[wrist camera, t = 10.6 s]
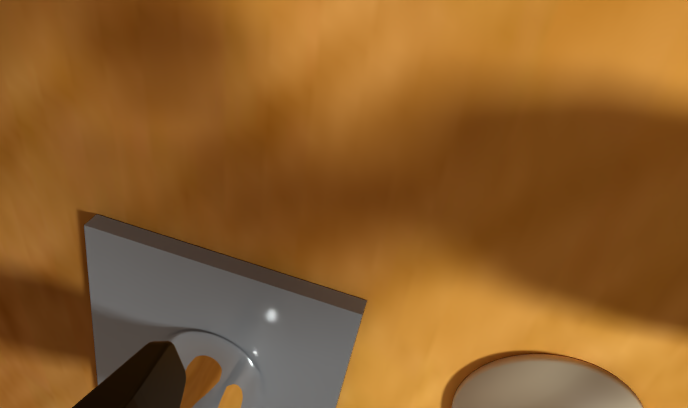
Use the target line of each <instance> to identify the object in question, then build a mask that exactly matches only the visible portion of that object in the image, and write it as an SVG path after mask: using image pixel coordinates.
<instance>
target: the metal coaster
mask: <svg viewBox="0 0 688 408" xmlns="http://www.w3.org/2000/svg"><path fill="white" fill-rule="evenodd" d="M452 408H643V406H642V403H641V402H640V400H639V399H638V397H637V396H636V394H635V393H634V392H633V391H632V390H631V389H630V388H629V387H628V386H627V385H626V384H625V383H624V382H623V381H621V380H620V379H619V378H617V377H616V376H614V375H613V374H611V373H609V372H608V371H606V370H604V369H602V368H600V367H598V366H595V365H593V364H590V363H587V362H585V361H582V360H578V359H574V358H570V357H565V356H559V355H549V354H525V355H516V356H511V357H506V358H502V359H499V360H496V361H493V362H490V363H488V364H486V365H484V366H482V367H480V368H478V369H477V370H475V371H473V372H472V373H471V374H470V375H469V376H467V377H466V378H465V379H464V380H463V382H462V383H461V384H460V385H459V387H458V389H457V390H456V392H455V395H454V398H453V402H452Z"/></svg>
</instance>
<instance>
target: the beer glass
mask: <svg viewBox="0 0 688 408" xmlns="http://www.w3.org/2000/svg"><path fill="white" fill-rule="evenodd" d="M164 341H170V342H172V343H173V344H174V346H175V348H176V350H177V352H178V355H179V357H180V359H181V361H182V364H183V366H184V368H185V372H186V384H185V388H184V393H183V397H182V401H181V406H180V408H255V407H256V405H257V404H258V402H259V401H260V399H261V396H262V392H263V381H262V377H261V374H260V372H259V370H258V368H257V366H256V365H255V363H254V362H253V361H252V359H251V358H250V357H249V356H248V355H247V354H246V353H245V352H244V351H243V350H241V349H240V348H239V347H238V346H236V345H235V344H233V343H232V342H230V341H228V340H226V339H224V338H222V337H220V336H217V335H214V334H211V333H207V332H203V331H182V332H178V333H175V334H172V335H171V336H169V337H168V338H166V339H165V340H164Z"/></svg>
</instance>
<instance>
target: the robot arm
mask: <svg viewBox="0 0 688 408" xmlns="http://www.w3.org/2000/svg"><path fill="white" fill-rule="evenodd" d="M185 384H186V372H185V368H184V366H183V364H182V361H181V359H180V357H179V355H178V352H177V350H176V348H175V346H174V344H173V343H172V342H170V341H152V342H149V343H147V344H146V345H145V346H144V347H142V348H141V349H140V350H139V351H138V352H137V353H135V354H134V355H133V356H132V357H131V358H130V359H128V360H127V361H126V362H125V363H124V364H123V365H121V366H120V367H119V368H118V369H117V370H116V371H114V372H113V373H112V374H111V375H110V376H108V377H107V378H106V379H105V380H104V381H103V382H101V383H100V384H99V385H98V386H97V387H96V388H94V389H93V390H92V391H91V392H90V393H89V394H87V395H86V396H85V397H84V398H83V399H82V400H80V401H79V402H78V403H77V404H76V405H75V406H73V407H72V408H180V406H181V401H182V397H183V393H184V388H185Z"/></svg>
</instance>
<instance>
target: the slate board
mask: <svg viewBox="0 0 688 408" xmlns="http://www.w3.org/2000/svg"><path fill="white" fill-rule="evenodd" d="M84 230H85V242H86V253H87V265H88V276H89V288H90V300H91V311H92V323H93V334H94V346H95V357H96V369H97V381H98V385H99V384H100V383H101V382H103V381H104V380H105V379H106V378H107V377H108V376H110V375H111V374H112V373H113V372H114V371H116V370H117V369H118V368H119V367H120V366H121V365H123V364H124V363H125V362H126V361H127V360H128V359H130V358H131V357H132V356H133V355H134V354H135V353H137V352H138V351H139V350H140V349H141V348H142V347H144V346H145V345H146V344H147V343H149V342H152V341H164V340H165V339H166V338H168V337H169V336H171V335H172V334H175V333H178V332H182V331H203V332H207V333H211V334H214V335H217V336H220V337H222V338H224V339H226V340H228V341H230V342H232V343H233V344H235V345H236V346H238V347H239V348H240V349H241V350H243V351H244V352H245V353H246V354H247V355H248V356H249V357H250V358H251V359H252V361H253V362H254V363H255V365H256V366H257V368H258V370H259V372H260V374H261V377H262V381H263V392H262V396H261V399H260V401H259V402H258V404H257V405H256V407H255V408H336V405H337V402H338V399H339V395H340V392H341V388H342V385H343V381H344V378H345V374H346V371H347V368H348V364H349V361H350V357H351V354H352V350H353V347H354V343H355V340H356V337H357V333H358V330H359V326H360V323H361V319H362V316H363V313H364V309H365V306H366V302H367V300H363V299H360V298H357V297H354V296H351V295H348V294H345V293H342V292H338V291H335V290H332V289H329V288H326V287H323V286H320V285H317V284H313V283H310V282H307V281H304V280H301V279H298V278H295V277H291V276H288V275H285V274H282V273H279V272H276V271H273V270H270V269H266V268H263V267H260V266H257V265H254V264H251V263H248V262H245V261H241V260H238V259H235V258H232V257H229V256H226V255H223V254H220V253H216V252H213V251H210V250H207V249H204V248H201V247H198V246H194V245H191V244H188V243H185V242H182V241H179V240H176V239H173V238H169V237H166V236H163V235H160V234H157V233H154V232H151V231H148V230H144V229H141V228H138V227H135V226H132V225H129V224H126V223H123V222H119V221H116V220H113V219H110V218H107V217H104V216H101V215H97V214H96V215H95V216H94V217H93V218H92V219H91V220H89V221H88V222H87V223H86V224H85V225H84Z"/></svg>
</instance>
